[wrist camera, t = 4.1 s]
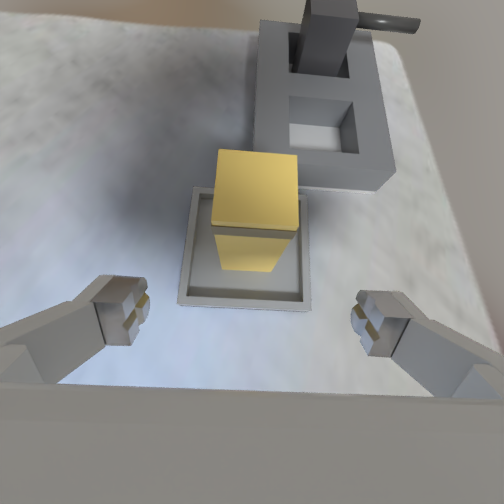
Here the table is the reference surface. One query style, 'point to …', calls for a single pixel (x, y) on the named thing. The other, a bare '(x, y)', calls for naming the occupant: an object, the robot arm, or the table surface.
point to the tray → (242, 282)
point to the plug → (254, 208)
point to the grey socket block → (326, 96)
